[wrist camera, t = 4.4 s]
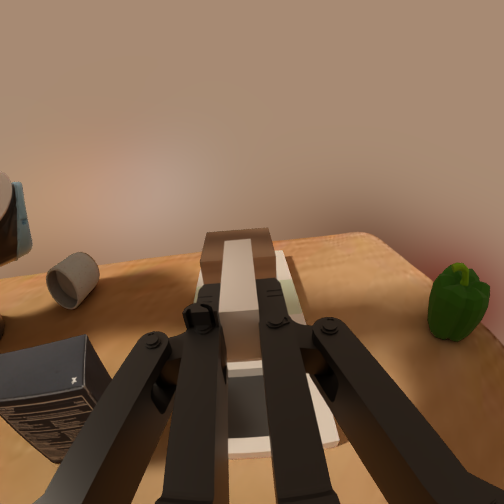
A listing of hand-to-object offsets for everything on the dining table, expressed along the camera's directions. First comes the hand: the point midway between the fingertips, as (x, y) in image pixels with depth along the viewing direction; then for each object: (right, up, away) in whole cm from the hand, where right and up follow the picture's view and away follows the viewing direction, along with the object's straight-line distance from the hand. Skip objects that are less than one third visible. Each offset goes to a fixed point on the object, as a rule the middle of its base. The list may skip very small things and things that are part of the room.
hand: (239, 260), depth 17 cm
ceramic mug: (-31, -8, +25) cm, 40 cm away
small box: (-15, -18, +3) cm, 24 cm away
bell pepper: (+26, -10, +13) cm, 31 cm away
